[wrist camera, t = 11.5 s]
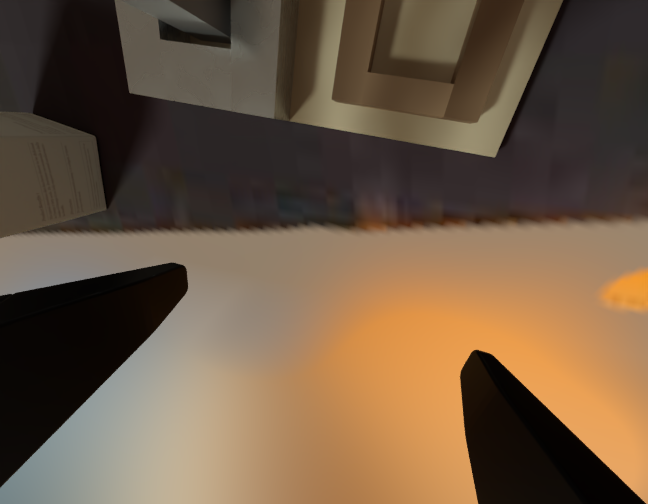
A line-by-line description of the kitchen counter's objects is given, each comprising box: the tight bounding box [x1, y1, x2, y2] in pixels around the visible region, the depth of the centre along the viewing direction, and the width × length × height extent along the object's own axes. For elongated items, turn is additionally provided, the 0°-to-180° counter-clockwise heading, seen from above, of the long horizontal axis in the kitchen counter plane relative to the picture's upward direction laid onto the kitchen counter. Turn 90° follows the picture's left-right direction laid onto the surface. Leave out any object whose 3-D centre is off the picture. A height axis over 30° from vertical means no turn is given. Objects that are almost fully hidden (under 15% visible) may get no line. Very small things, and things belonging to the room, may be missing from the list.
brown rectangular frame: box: [332, 0, 524, 124], centre depth 13 cm, size 8×9×2 cm
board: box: [190, 0, 563, 157], centre depth 15 cm, size 24×12×1 cm, turn 80°
